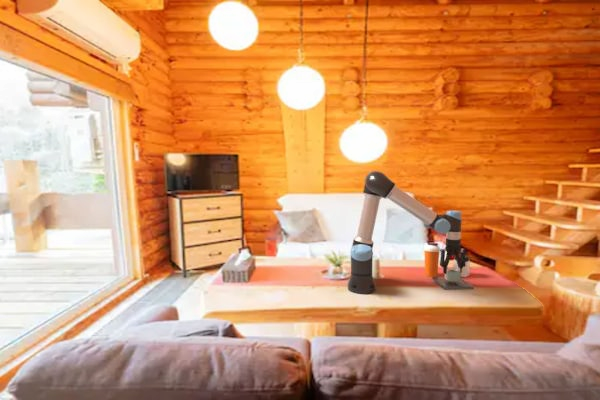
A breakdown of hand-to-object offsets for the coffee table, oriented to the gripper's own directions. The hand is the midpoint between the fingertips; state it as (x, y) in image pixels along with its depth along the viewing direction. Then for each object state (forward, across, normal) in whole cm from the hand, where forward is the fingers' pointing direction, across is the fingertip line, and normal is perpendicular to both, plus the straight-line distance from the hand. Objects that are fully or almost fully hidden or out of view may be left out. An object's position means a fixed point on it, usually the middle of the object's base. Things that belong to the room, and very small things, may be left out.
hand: (452, 278), depth 183 cm
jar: (+3, +13, +15) cm, 20 cm away
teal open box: (0, 0, 0) cm, 0 cm away
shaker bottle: (+3, -5, +16) cm, 17 cm away
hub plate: (+3, 0, 0) cm, 3 cm away
